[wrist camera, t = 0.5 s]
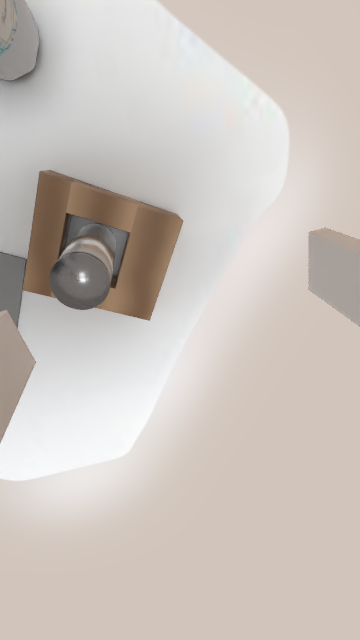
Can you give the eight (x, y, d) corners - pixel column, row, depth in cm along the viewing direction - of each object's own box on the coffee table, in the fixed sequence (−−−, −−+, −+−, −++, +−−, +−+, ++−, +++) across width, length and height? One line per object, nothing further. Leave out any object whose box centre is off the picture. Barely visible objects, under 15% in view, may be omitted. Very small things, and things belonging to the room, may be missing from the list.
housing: (33, 277, 36) (23, 290, 32) (49, 170, 31) (39, 171, 28) (147, 306, 40) (149, 320, 36) (178, 214, 35) (183, 220, 32)
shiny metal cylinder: (71, 257, 36) (44, 301, 24) (79, 217, 34) (54, 246, 22) (111, 267, 37) (102, 315, 26) (120, 230, 35) (116, 264, 24)
